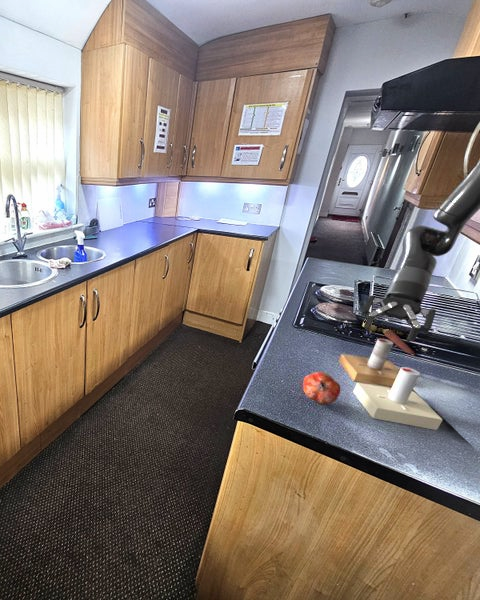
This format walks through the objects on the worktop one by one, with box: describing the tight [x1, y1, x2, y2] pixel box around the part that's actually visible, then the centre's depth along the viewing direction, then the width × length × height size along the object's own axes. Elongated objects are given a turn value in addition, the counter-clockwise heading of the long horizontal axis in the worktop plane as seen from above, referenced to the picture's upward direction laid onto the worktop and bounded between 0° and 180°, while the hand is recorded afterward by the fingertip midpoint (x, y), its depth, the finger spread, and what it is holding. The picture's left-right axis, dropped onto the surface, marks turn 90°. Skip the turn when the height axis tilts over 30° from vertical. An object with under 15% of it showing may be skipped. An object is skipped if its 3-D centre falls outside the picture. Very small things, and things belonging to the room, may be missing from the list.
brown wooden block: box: [338, 353, 400, 388], centre depth 90 cm, size 12×10×3 cm
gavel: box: [362, 321, 415, 356], centre depth 106 cm, size 21×5×10 cm
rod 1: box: [367, 337, 394, 370], centre depth 88 cm, size 3×3×8 cm
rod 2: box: [388, 366, 421, 404], centre depth 75 cm, size 3×3×8 cm
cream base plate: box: [353, 382, 444, 431], centre depth 77 cm, size 12×10×3 cm
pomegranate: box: [302, 371, 341, 405], centre depth 80 cm, size 7×7×10 cm
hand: (387, 335), depth 89 cm, fingers open, 8 cm apart
